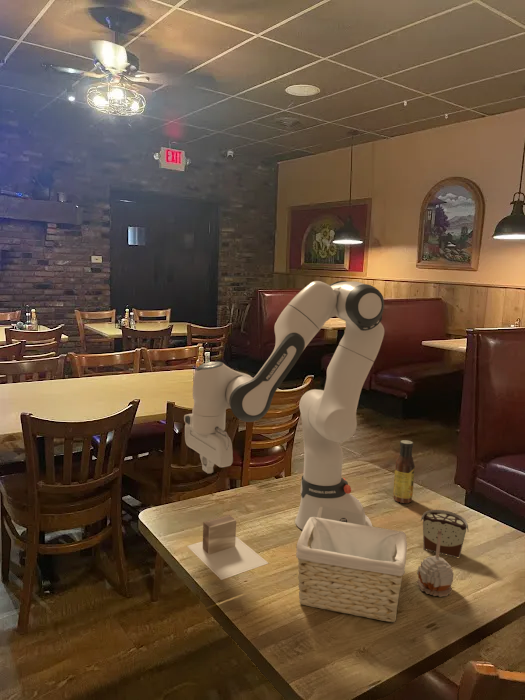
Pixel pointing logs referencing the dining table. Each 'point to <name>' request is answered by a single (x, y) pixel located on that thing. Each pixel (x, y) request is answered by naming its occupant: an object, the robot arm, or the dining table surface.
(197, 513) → the dining table surface
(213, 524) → the walnut block
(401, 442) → the sauce bottle
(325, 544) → the storage basket
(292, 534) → the dining table surface
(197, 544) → the white rectangular sheet
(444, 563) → the candy apple
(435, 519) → the food container
